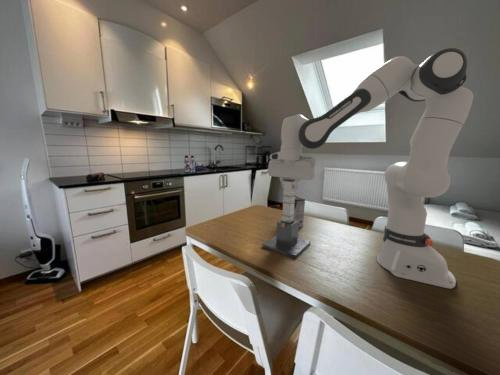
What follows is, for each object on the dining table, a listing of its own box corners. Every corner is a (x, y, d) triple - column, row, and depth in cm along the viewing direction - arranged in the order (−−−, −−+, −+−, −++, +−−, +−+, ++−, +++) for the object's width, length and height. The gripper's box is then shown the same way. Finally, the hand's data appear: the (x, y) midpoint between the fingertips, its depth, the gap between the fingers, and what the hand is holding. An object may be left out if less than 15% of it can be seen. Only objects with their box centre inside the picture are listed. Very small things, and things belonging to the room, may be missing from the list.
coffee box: (285, 222, 122) (286, 196, 119) (293, 221, 125) (295, 195, 122) (294, 228, 114) (296, 200, 111) (303, 226, 116) (305, 199, 114)
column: (293, 229, 92) (296, 179, 88) (289, 232, 88) (292, 180, 84) (285, 227, 94) (287, 178, 90) (281, 229, 91) (283, 179, 87)
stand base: (310, 244, 94) (312, 220, 92) (295, 258, 82) (297, 230, 79) (279, 235, 104) (280, 213, 102) (262, 247, 91) (262, 221, 89)
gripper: (318, 156, 82) (315, 190, 84) (273, 155, 94) (273, 184, 96) (312, 156, 77) (310, 192, 79) (266, 155, 89) (265, 186, 91)
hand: (289, 188), depth 88 cm, fingers closed on column, 4 cm apart
